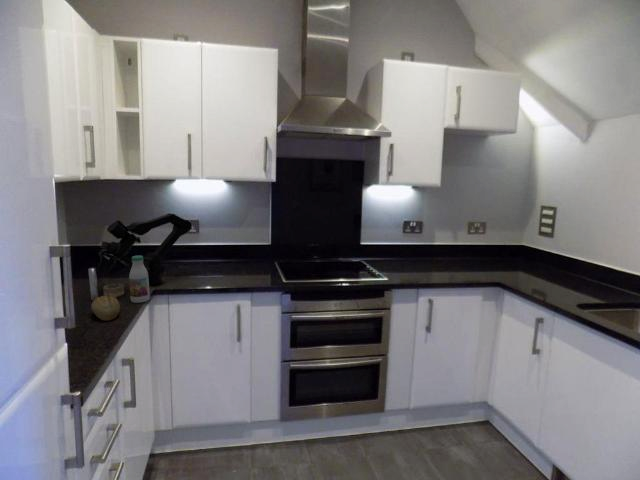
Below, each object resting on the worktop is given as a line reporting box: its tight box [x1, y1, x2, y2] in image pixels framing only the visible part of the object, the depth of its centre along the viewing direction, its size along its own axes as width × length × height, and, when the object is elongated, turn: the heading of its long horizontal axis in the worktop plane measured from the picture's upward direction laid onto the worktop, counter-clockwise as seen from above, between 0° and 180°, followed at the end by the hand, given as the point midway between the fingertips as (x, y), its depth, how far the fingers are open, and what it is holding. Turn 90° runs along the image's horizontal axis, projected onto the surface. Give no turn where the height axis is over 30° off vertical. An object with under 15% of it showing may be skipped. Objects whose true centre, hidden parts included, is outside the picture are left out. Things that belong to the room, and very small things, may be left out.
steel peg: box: [88, 267, 99, 301], centre depth 178 cm, size 3×3×14 cm
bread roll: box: [90, 295, 121, 322], centre depth 160 cm, size 10×15×8 cm, turn 42°
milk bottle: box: [128, 255, 151, 304], centre depth 177 cm, size 8×8×20 cm
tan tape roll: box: [102, 283, 125, 298], centre depth 185 cm, size 8×8×4 cm
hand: (102, 272), depth 181 cm, fingers open, 9 cm apart
